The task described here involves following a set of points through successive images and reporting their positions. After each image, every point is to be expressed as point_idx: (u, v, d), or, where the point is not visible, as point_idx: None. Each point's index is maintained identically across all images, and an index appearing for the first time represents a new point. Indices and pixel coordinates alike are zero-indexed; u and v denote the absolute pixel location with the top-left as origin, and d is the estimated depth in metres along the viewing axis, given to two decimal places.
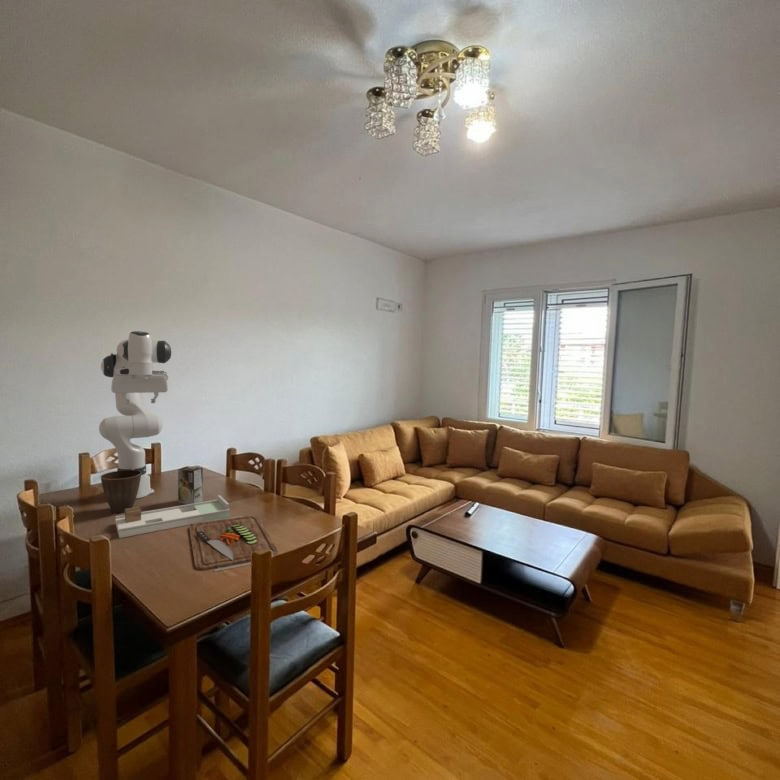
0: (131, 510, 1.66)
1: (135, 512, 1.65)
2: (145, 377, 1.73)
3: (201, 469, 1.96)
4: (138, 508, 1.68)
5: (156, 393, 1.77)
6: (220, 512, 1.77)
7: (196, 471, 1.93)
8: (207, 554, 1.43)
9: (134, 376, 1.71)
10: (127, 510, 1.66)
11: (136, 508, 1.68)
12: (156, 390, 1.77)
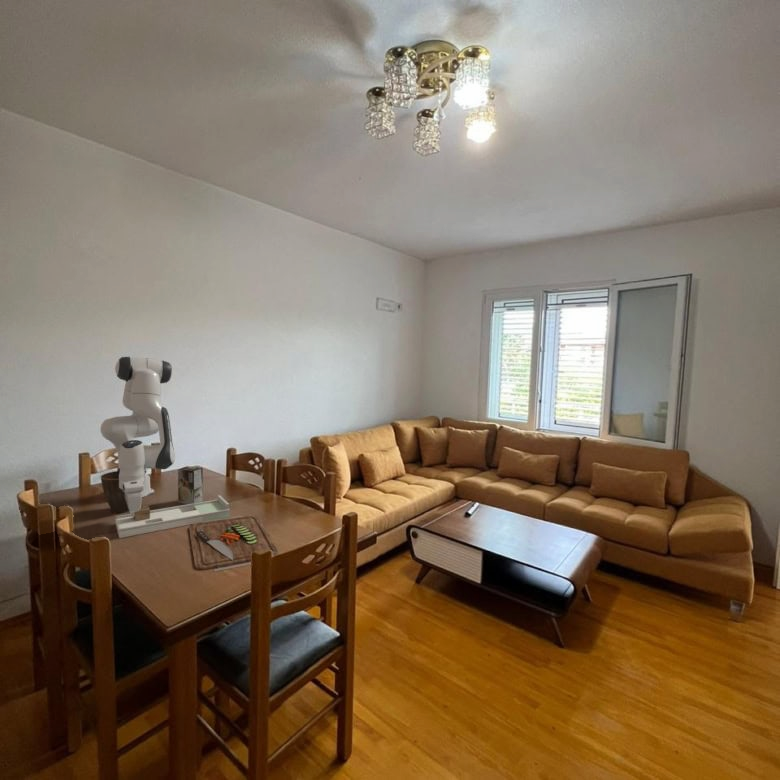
0: (140, 509, 1.68)
1: (144, 510, 1.67)
2: None
3: (201, 469, 1.96)
4: (147, 507, 1.70)
5: None
6: (220, 512, 1.77)
7: (196, 471, 1.93)
8: (207, 554, 1.43)
9: None
10: None
11: (145, 507, 1.70)
12: None
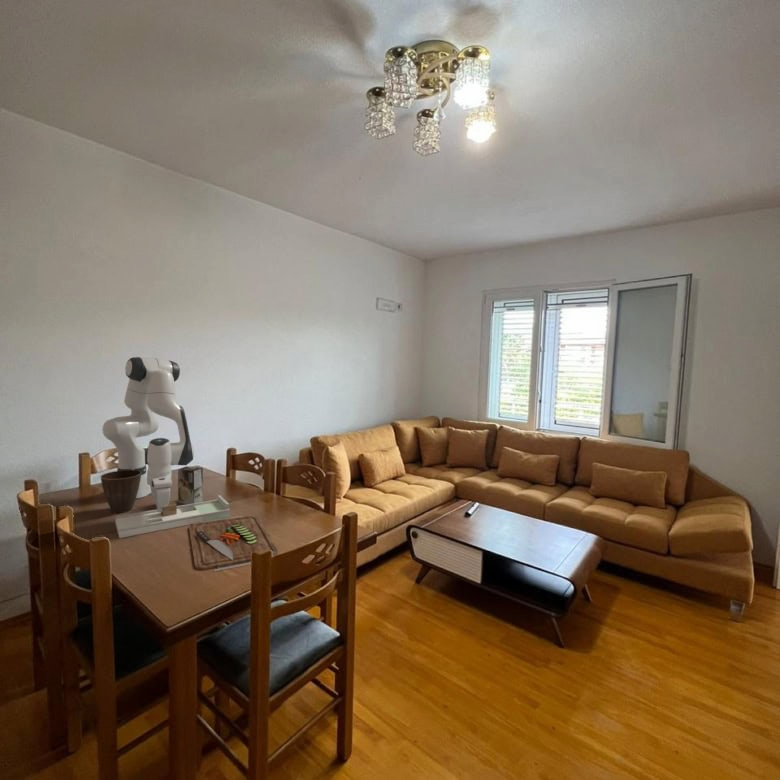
0: None
1: (171, 506, 1.73)
2: None
3: (201, 469, 1.96)
4: (174, 503, 1.76)
5: None
6: (220, 512, 1.77)
7: (196, 471, 1.93)
8: (207, 554, 1.43)
9: None
10: None
11: (172, 503, 1.76)
12: None
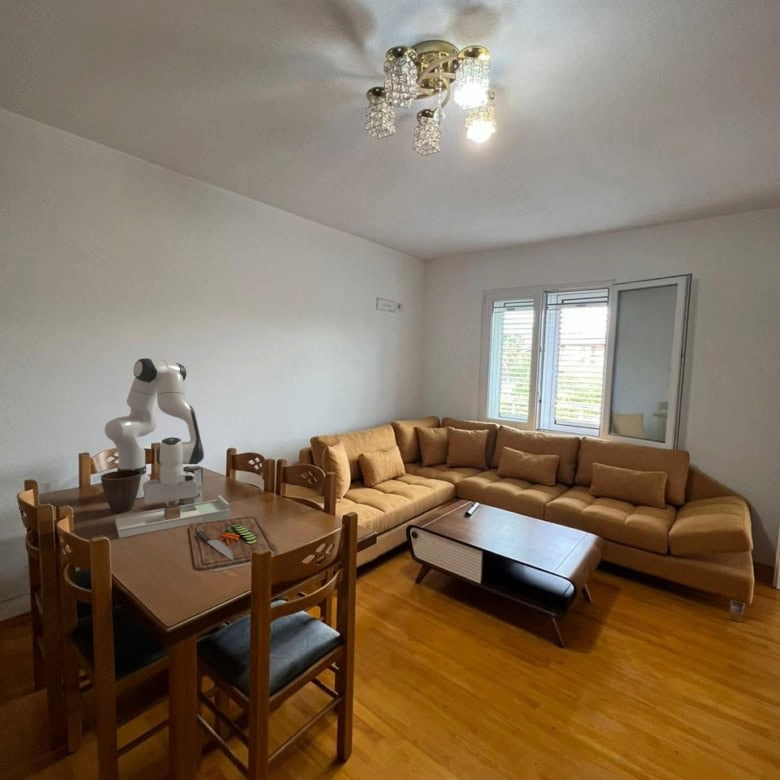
0: (171, 507, 1.70)
1: (175, 509, 1.70)
2: None
3: (201, 469, 1.96)
4: (177, 506, 1.72)
5: None
6: (220, 512, 1.77)
7: (196, 471, 1.93)
8: (207, 554, 1.43)
9: None
10: (167, 507, 1.70)
11: (175, 506, 1.72)
12: None
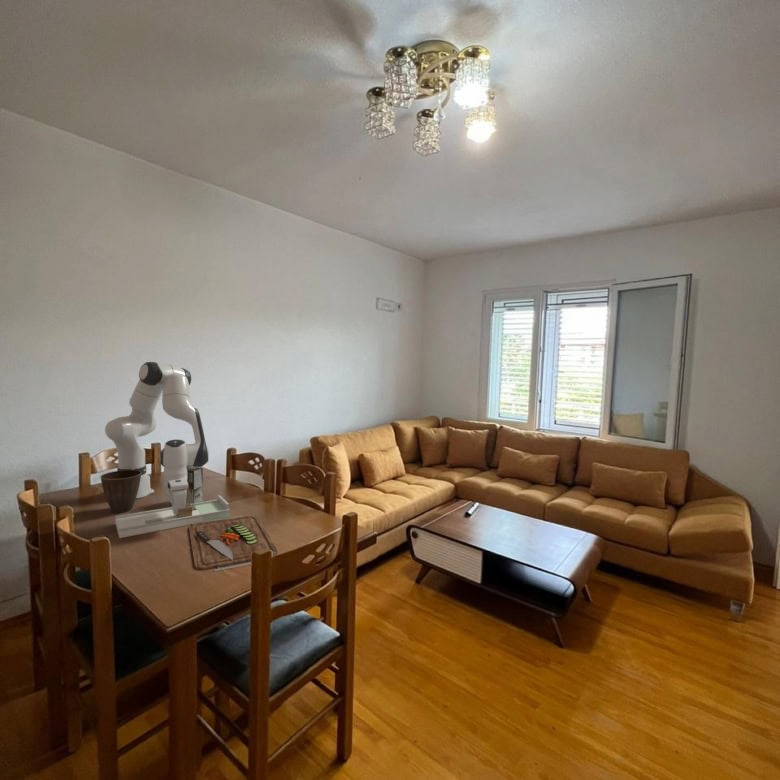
0: None
1: (187, 508, 1.71)
2: None
3: (201, 469, 1.96)
4: (189, 505, 1.74)
5: None
6: (220, 512, 1.77)
7: (196, 471, 1.93)
8: (207, 554, 1.43)
9: None
10: None
11: (187, 505, 1.74)
12: None
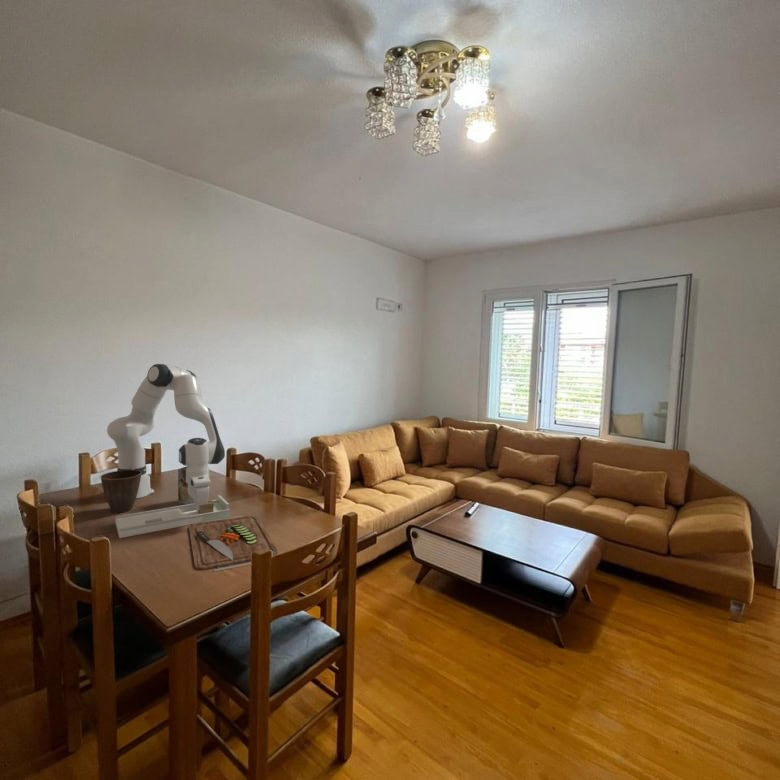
0: None
1: (209, 504, 1.76)
2: None
3: None
4: (210, 501, 1.79)
5: None
6: (220, 512, 1.77)
7: None
8: (207, 554, 1.43)
9: None
10: None
11: (209, 501, 1.79)
12: None
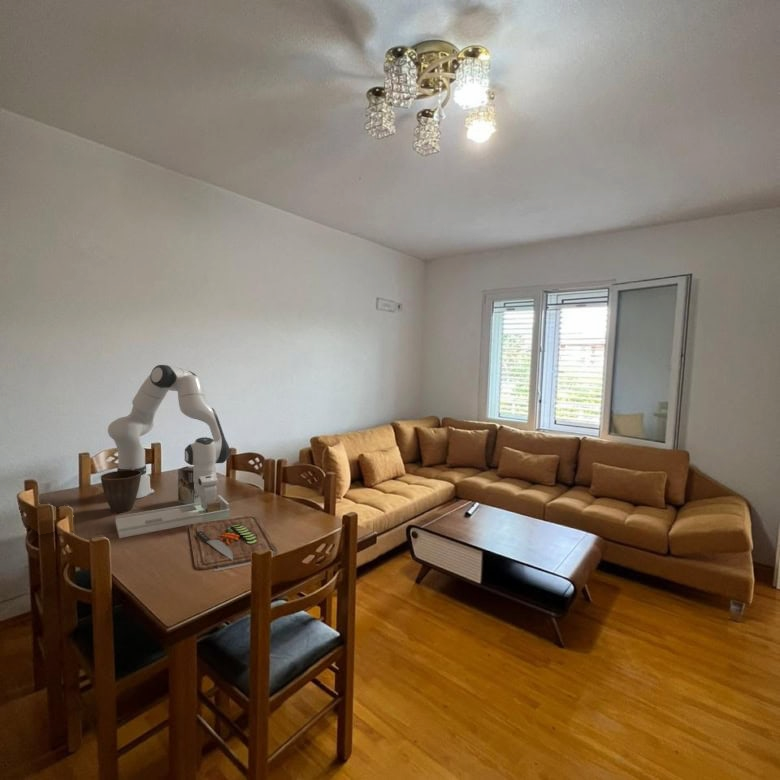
0: None
1: (216, 503, 1.78)
2: None
3: None
4: (217, 500, 1.81)
5: None
6: (220, 512, 1.77)
7: None
8: (207, 554, 1.43)
9: None
10: None
11: (215, 500, 1.81)
12: None
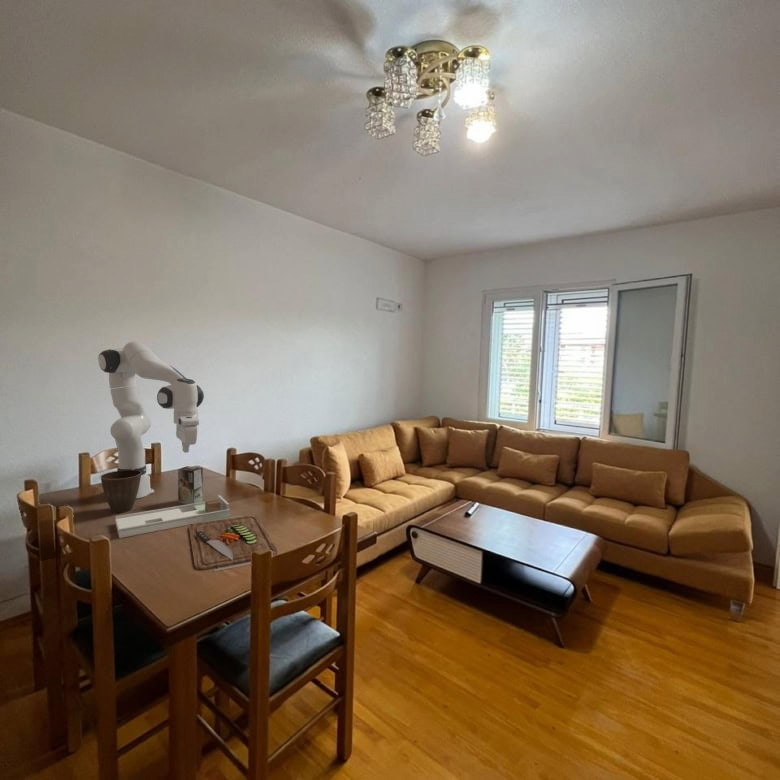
0: (211, 502, 1.79)
1: (216, 503, 1.78)
2: None
3: (201, 469, 1.96)
4: (217, 500, 1.81)
5: None
6: (220, 512, 1.77)
7: (196, 471, 1.93)
8: (207, 554, 1.43)
9: None
10: (208, 502, 1.79)
11: (215, 500, 1.81)
12: None
